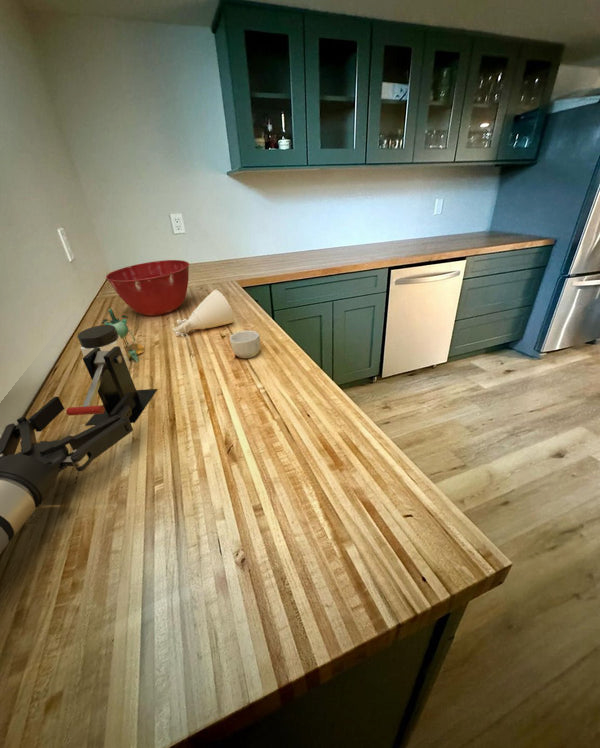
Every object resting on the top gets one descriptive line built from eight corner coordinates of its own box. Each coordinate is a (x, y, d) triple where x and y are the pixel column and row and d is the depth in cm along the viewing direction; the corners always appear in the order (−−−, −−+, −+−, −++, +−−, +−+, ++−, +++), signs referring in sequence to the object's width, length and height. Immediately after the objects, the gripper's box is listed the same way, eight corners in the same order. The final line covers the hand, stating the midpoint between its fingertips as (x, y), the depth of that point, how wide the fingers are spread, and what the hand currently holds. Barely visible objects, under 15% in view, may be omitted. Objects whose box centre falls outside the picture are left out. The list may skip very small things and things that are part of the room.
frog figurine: (109, 375, 85) (85, 318, 79) (111, 355, 101) (92, 306, 94) (148, 364, 89) (129, 309, 83) (145, 346, 104) (128, 299, 98)
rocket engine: (161, 310, 96) (215, 283, 103) (164, 324, 107) (213, 299, 114) (184, 343, 96) (236, 313, 103) (185, 354, 107) (232, 327, 114)
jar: (128, 380, 82) (110, 335, 76) (92, 386, 81) (71, 341, 75) (134, 363, 90) (118, 321, 84) (101, 369, 88) (83, 327, 82)
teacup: (266, 356, 88) (263, 337, 85) (238, 364, 85) (234, 345, 82) (252, 343, 96) (250, 325, 93) (226, 350, 93) (223, 332, 90)
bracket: (136, 427, 66) (111, 365, 59) (87, 429, 66) (56, 369, 59) (159, 393, 76) (139, 337, 69) (116, 395, 76) (92, 340, 69)
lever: (104, 416, 59) (97, 409, 57) (71, 418, 59) (63, 411, 57) (124, 357, 67) (118, 349, 65) (95, 359, 67) (88, 351, 65)
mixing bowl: (153, 328, 112) (138, 282, 104) (104, 317, 125) (88, 275, 118) (213, 302, 132) (205, 261, 124) (165, 295, 146) (155, 258, 138)
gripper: (-67, 518, 46) (39, 420, 64) (112, 510, 45) (167, 413, 63) (-105, 479, 42) (19, 387, 60) (90, 469, 41) (156, 379, 59)
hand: (95, 400), depth 61 cm, fingers open, 13 cm apart
